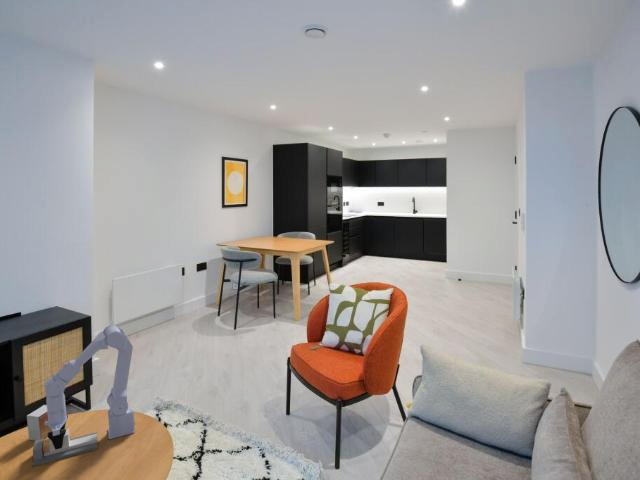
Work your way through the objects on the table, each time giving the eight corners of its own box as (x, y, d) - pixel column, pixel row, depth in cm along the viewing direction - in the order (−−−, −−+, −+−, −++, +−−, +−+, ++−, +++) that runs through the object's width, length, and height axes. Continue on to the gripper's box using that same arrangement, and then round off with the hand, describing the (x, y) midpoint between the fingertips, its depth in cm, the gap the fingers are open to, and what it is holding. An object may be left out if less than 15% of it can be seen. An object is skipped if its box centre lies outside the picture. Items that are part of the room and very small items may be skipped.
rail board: (97, 434, 160) (96, 423, 159) (96, 449, 152) (96, 437, 151) (36, 450, 151) (35, 438, 150) (33, 466, 142) (31, 453, 141)
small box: (40, 442, 155) (38, 417, 154) (28, 440, 156) (26, 415, 155) (57, 429, 163) (55, 406, 162) (46, 428, 164) (43, 404, 163)
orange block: (51, 444, 150) (50, 438, 150) (50, 450, 147) (49, 444, 146) (44, 446, 149) (44, 440, 149) (43, 452, 146) (42, 446, 145)
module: (69, 440, 153) (68, 427, 152) (69, 447, 149) (68, 434, 149) (51, 445, 150) (50, 432, 150) (50, 452, 146) (48, 438, 146)
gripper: (46, 402, 152) (49, 434, 154) (41, 422, 139) (44, 457, 141) (67, 397, 155) (70, 429, 157) (64, 416, 143) (67, 451, 145)
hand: (59, 442), depth 150 cm, fingers open, 7 cm apart
